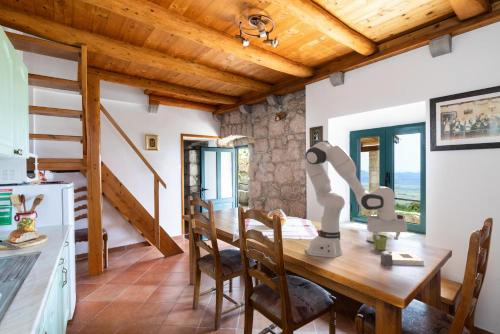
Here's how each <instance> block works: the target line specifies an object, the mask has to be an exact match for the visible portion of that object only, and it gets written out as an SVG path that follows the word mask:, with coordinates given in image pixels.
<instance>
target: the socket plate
mask: <svg viewBox="0 0 500 334" xmlns="http://www.w3.org/2000/svg"><path fill="white" fill-rule="evenodd" d="M382 252H389V253H390V254H391V255H392V265H400V266H401V265H404V266H405V265H407V266H425V263H424V260H423V259H422V258H420V257H419V256H417V255H416V254H414V253H412V252H411V251H389V250H388V251H387V250H382Z"/></svg>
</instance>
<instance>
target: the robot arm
mask: <svg viewBox="0 0 500 334" xmlns="http://www.w3.org/2000/svg"><path fill="white" fill-rule="evenodd" d="M304 157H305V162H304V166H305V169H306V173H307V175H308V177H309V179H310V182H311V184H312V185H313V189H314V191H315V195H316V202H317V203H318V204H319V205H320V207H322V208H323V213H322V216H321V219H320V224H321V225H320V226H321V229H316V233H317V236H316V237H314V238H313V239H311V240H310V241H309V246H308V247H306V248H305V253H306V254H307V255H308V256H314V257H323V258H333V259H335V258H337V257H339V256H342V255H343V251H342V248H341V231H340V218H341V213H342V210H343V209H344V207H345V205H346V203H345V202H346V201H345V198H344V197H343V196H342V195H340V193H337V192H334V191H333V190H332V187H331V179H330V176H329V175H328V172H327V170H326V168H325V166H324V164H325V162H329V163H330V165H331V166H332V168H333V169H334V170H335V171H336V173H337V175H339V176H340V177H341V178H342V179H343V180H344V181H345V182H346V183H347V185H348V186H349V188H350V189H351V191H352V193H353V194H354V197H355V198H354V199H355V201H356V203H357V205H358V206H359V207H361V208H363V209H365V210H366V209H367V210H373V211H374V210H377V212H376V214H375V215H372V214H371V215H369V216H366V220H367V221H366V222H367V224H366V230H367V231H368V232H369V233H373V232H374V234H375V235H376V239H377V240H380V237H379V236H378V235H377V234H379V233H395V235H393V239H394V241H398V240H399V237H400V235H401V233H406V232H407V231H408V225H407V221H406V220H405V219H406V216H405V214H401V213H399V212H396V209H395V202H396V201H395V193H394V190H393V189H392V188H390V187H387V186H377V188H375V189H373V190H371V191H368V190H367V189H365V188H364V186H363V185H362V183H361V181H360V180H359V179H358V177H357V167H356V163H355V162H354V160H353V158H351V156H350V155H349V154H348V152H346V150H345V149H344V148H343V147H341V146H340V145H334V144H333V143H332V142H331V141H329V140H321V141H319V142H318V143H315V144H313V146H311V147H309V148H308V149H307V150H306V152H305V155H304Z"/></svg>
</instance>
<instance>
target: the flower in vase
mask: <svg viewBox="0 0 500 334" xmlns="http://www.w3.org/2000/svg"><path fill="white" fill-rule="evenodd" d="M373 213H374V210H367V209H365V210H364V211H363V215H364V216H366V217H368V216H370V215H372V214H373ZM365 221H366V222H367V219H365ZM372 235H374V232H371V233H370V234H369V235H367V236H366V237H365V238H366V240H367V241H369V242H372V243H374V239H373V237H372Z"/></svg>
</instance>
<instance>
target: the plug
mask: <svg viewBox="0 0 500 334" xmlns="http://www.w3.org/2000/svg"><path fill="white" fill-rule="evenodd" d="M380 263H381V264H382V265H384V266H385V267H393V264H392V255H391V254H390V253H389V252H383V251H380Z"/></svg>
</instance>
